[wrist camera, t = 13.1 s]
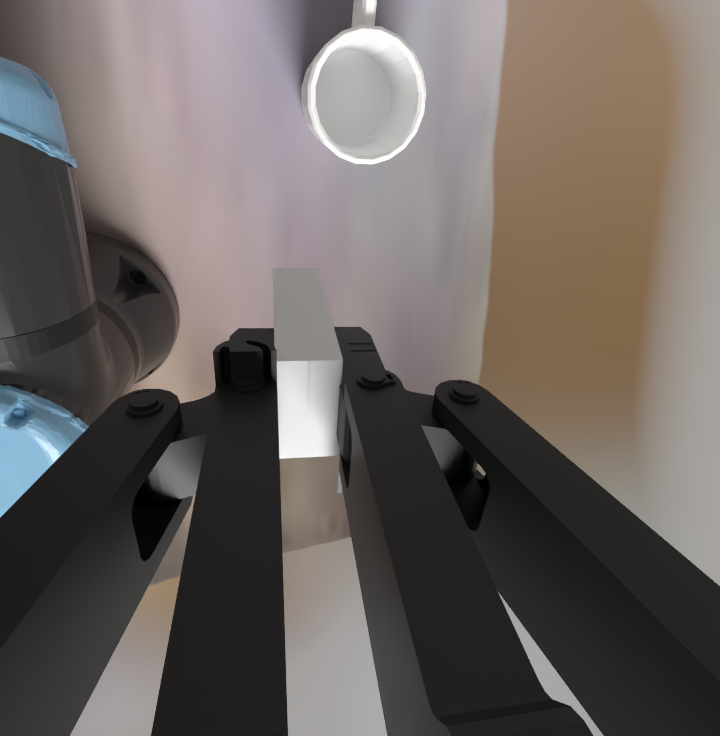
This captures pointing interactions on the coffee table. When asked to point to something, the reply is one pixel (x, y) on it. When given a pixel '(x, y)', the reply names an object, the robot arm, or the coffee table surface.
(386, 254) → the coffee table surface
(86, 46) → the coffee table surface
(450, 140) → the coffee table surface
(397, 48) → the mug
